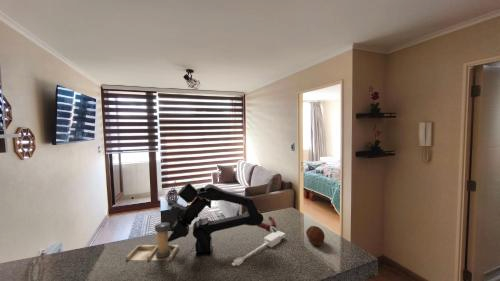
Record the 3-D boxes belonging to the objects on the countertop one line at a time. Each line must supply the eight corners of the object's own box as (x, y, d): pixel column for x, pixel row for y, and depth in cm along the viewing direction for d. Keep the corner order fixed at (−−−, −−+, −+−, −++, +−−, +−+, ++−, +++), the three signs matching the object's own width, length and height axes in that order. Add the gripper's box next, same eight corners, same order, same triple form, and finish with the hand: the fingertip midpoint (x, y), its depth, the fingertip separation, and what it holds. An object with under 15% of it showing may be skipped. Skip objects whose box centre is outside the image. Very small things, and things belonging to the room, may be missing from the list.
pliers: (267, 238, 110) (267, 233, 110) (253, 222, 129) (253, 218, 129) (287, 234, 114) (287, 229, 114) (271, 219, 133) (271, 215, 133)
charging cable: (228, 266, 90) (228, 258, 90) (277, 235, 113) (277, 228, 112) (237, 271, 86) (236, 263, 86) (285, 238, 109) (285, 232, 109)
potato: (315, 235, 112) (315, 220, 111) (330, 247, 101) (330, 230, 100) (302, 237, 110) (302, 222, 109) (315, 250, 99) (315, 232, 98)
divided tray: (178, 250, 100) (178, 244, 100) (171, 262, 91) (171, 255, 91) (137, 250, 100) (137, 244, 100) (126, 262, 91) (125, 255, 91)
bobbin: (172, 250, 98) (171, 222, 97) (168, 258, 92) (167, 228, 91) (159, 250, 98) (157, 222, 97) (153, 259, 92) (152, 228, 91)
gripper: (183, 191, 104) (159, 215, 103) (178, 204, 86) (149, 235, 85) (200, 205, 106) (177, 230, 105) (199, 221, 88) (172, 252, 87)
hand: (169, 235), depth 95 cm, fingers open, 9 cm apart
